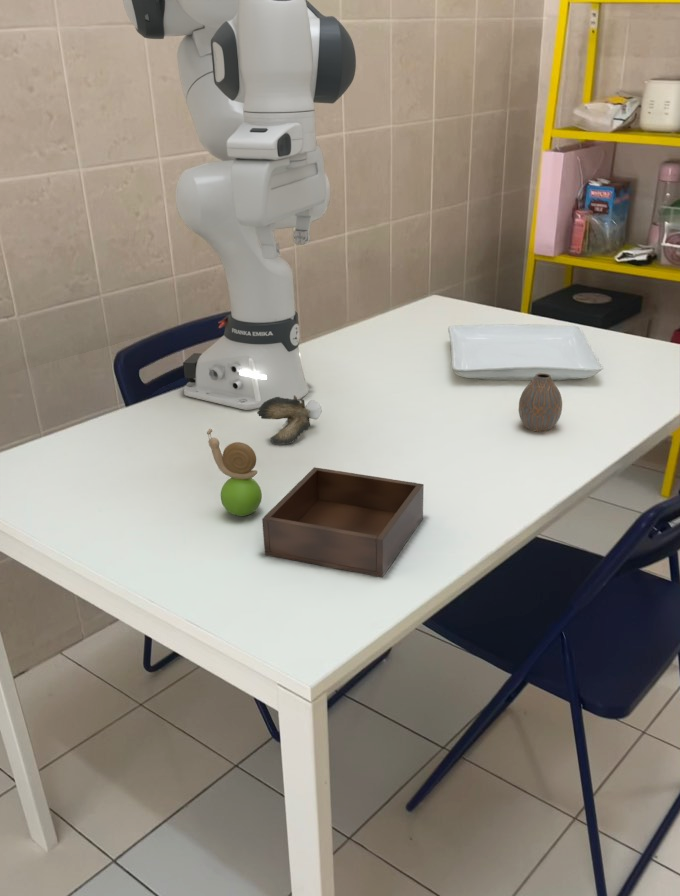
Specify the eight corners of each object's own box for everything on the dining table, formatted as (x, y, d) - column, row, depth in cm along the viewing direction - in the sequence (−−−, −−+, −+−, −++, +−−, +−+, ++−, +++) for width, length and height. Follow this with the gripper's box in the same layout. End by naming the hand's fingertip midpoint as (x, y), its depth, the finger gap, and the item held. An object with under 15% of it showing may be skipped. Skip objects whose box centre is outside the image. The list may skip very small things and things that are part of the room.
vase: (559, 436, 140) (565, 384, 135) (515, 433, 141) (519, 381, 136) (560, 420, 145) (565, 369, 141) (518, 417, 147) (522, 367, 142)
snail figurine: (222, 502, 121) (213, 421, 115) (267, 505, 120) (261, 423, 114) (210, 521, 116) (200, 437, 110) (257, 524, 115) (250, 440, 109)
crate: (264, 554, 109) (261, 518, 106) (315, 500, 121) (314, 467, 119) (382, 577, 104) (382, 540, 101) (423, 518, 116) (423, 483, 114)
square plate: (446, 341, 184) (447, 323, 182) (578, 342, 183) (580, 323, 181) (451, 386, 160) (452, 365, 158) (602, 386, 159) (605, 366, 157)
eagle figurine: (282, 412, 147) (248, 420, 139) (303, 381, 143) (269, 387, 135) (312, 444, 145) (278, 454, 138) (334, 414, 141) (300, 422, 134)
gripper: (293, 128, 119) (298, 234, 126) (218, 143, 102) (229, 265, 109) (336, 129, 117) (339, 237, 124) (267, 145, 100) (275, 268, 107)
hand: (287, 250), depth 116 cm, fingers open, 8 cm apart
